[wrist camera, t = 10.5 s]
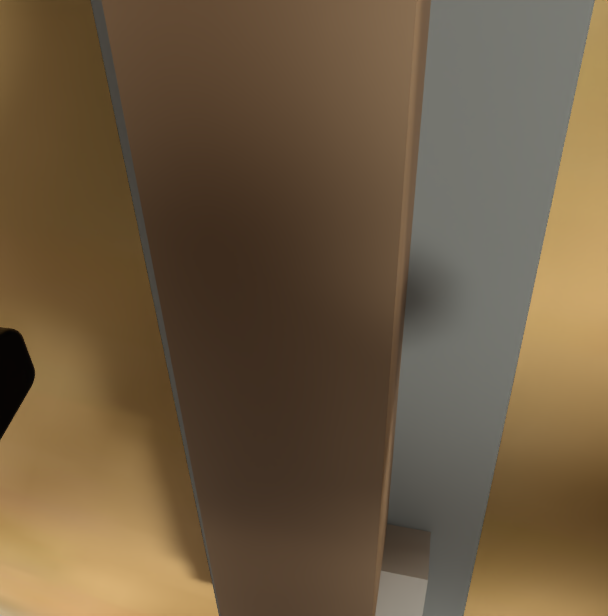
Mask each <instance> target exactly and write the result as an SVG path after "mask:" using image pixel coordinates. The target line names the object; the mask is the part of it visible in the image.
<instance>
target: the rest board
mask: <svg viewBox="0 0 608 616" xmlns="http://www.w3.org/2000/svg"><path fill="white" fill-rule="evenodd" d="M594 1H595V0H431V7H430V19H429V31H428V43H427V55H426V67H425V79H424V91H423V103H422V115H421V127H420V139H419V151H418V163H417V174H416V186H415V198H414V210H413V222H412V234H411V246H410V258H409V270H408V282H407V294H406V306H405V318H404V330H403V342H402V354H401V366H400V377H399V389H398V401H397V413H396V425H395V437H394V449H393V461H392V473H391V485H390V497H389V509H388V521H387V524H390V525H395V526H400V527H406V528H411V529H417V530H422V531H427V532H431V535H430V554H429V572H428V583H427V590H426V596H425V602H424V609H423V615H422V616H463V615H464V610H465V606H466V601H467V596H468V592H469V587H470V582H471V578H472V573H473V568H474V564H475V559H476V554H477V550H478V545H479V540H480V535H481V531H482V526H483V521H484V517H485V512H486V507H487V503H488V498H489V493H490V489H491V484H492V479H493V475H494V470H495V465H496V461H497V456H498V451H499V446H500V442H501V437H502V432H503V428H504V423H505V418H506V414H507V409H508V404H509V400H510V395H511V390H512V386H513V381H514V376H515V372H516V367H517V362H518V357H519V353H520V348H521V343H522V339H523V334H524V329H525V325H526V320H527V315H528V311H529V306H530V301H531V297H532V292H533V287H534V283H535V278H536V273H537V268H538V264H539V259H540V254H541V250H542V245H543V240H544V236H545V231H546V226H547V222H548V217H549V212H550V208H551V203H552V198H553V194H554V189H555V184H556V179H557V175H558V170H559V165H560V161H561V156H562V151H563V147H564V142H565V137H566V133H567V128H568V123H569V119H570V114H571V109H572V104H573V100H574V95H575V90H576V86H577V81H578V76H579V72H580V67H581V62H582V58H583V53H584V48H585V44H586V39H587V34H588V30H589V25H590V20H591V15H592V11H593V6H594ZM91 4H92V9H93V14H94V19H95V23H96V28H97V33H98V38H99V43H100V47H101V52H102V57H103V62H104V67H105V71H106V76H107V81H108V86H109V91H110V95H111V100H112V105H113V110H114V114H115V119H116V124H117V129H118V134H119V138H120V143H121V148H122V153H123V158H124V162H125V167H126V172H127V177H128V182H129V186H130V191H131V196H132V201H133V205H134V210H135V215H136V220H137V225H138V229H139V234H140V239H141V244H142V249H143V253H144V258H145V263H146V268H147V273H148V277H149V282H150V287H151V292H152V296H153V301H154V306H155V311H156V316H157V320H158V325H159V330H160V335H161V340H162V344H163V349H164V354H165V359H166V364H167V368H168V373H169V378H170V383H171V387H172V392H173V397H174V402H175V407H176V411H177V416H178V421H179V426H180V431H181V435H182V440H183V445H184V450H185V454H186V459H187V464H188V469H189V474H190V478H191V483H192V488H193V493H194V498H195V502H196V507H197V512H198V517H199V522H200V526H201V531H202V536H203V541H204V545H205V550H206V555H207V560H208V565H209V569H210V574H211V579H212V584H213V589H214V593H215V598H216V603H217V608H218V613H219V616H220V611H219V606H218V601H217V595H216V590H215V585H214V580H213V575H212V570H211V564H210V559H209V554H208V549H207V544H206V539H205V533H204V528H203V523H202V518H201V513H200V507H199V502H198V497H197V492H196V487H195V482H194V476H193V471H192V466H191V461H190V456H189V451H188V445H187V440H186V435H185V430H184V425H183V420H182V414H181V409H180V404H179V399H178V394H177V388H176V383H175V378H174V373H173V368H172V363H171V357H170V352H169V347H168V342H167V337H166V332H165V326H164V321H163V316H162V311H161V306H160V300H159V295H158V290H157V285H156V280H155V275H154V269H153V264H152V259H151V254H150V249H149V244H148V238H147V233H146V228H145V223H144V218H143V213H142V207H141V202H140V197H139V192H138V187H137V181H136V176H135V171H134V166H133V161H132V156H131V150H130V145H129V140H128V135H127V130H126V125H125V119H124V114H123V109H122V104H121V99H120V93H119V88H118V83H117V78H116V73H115V68H114V62H113V57H112V52H111V47H110V42H109V37H108V31H107V26H106V21H105V16H104V11H103V6H102V0H91Z"/></svg>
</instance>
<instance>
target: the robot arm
mask: <svg viewBox="0 0 608 616" xmlns="http://www.w3.org/2000/svg"><path fill="white" fill-rule="evenodd" d="M34 378H35V369H34V366H33V363H32V361H31V358H30V355H29V353H28V350H27V347H26V344H25V342H24V339H23V337H22V335H21V334H20V333H19V332H18V331H17V330H15V329H11V328H3V327H0V440H1V438H2V436H3V435H4V433H5V431H6V429H7V428H8V426H9V424H10V422H11V421H12V419H13V417H14V416H15V414H16V412H17V410H18V409H19V407H20V405H21V403H22V402H23V400H24V398H25V397H26V395H27V393H28V391H29V390H30V388H31V386H32V384H33V381H34Z"/></svg>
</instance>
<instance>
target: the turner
mask: <svg viewBox="0 0 608 616" xmlns="http://www.w3.org/2000/svg"><path fill="white" fill-rule="evenodd" d="M102 6H103V11H104V16H105V21H106V26H107V31H108V37H109V42H110V47H111V52H112V57H113V62H114V68H115V73H116V78H117V83H118V88H119V93H120V99H121V104H122V109H123V114H124V119H125V125H126V130H127V135H128V140H129V145H130V150H131V156H132V161H133V166H134V171H135V176H136V181H137V187H138V192H139V197H140V202H141V207H142V213H143V218H144V223H145V228H146V233H147V238H148V244H149V249H150V254H151V259H152V264H153V269H154V275H155V280H156V285H157V290H158V295H159V300H160V306H161V311H162V316H163V321H164V326H165V332H166V337H167V342H168V347H169V352H170V357H171V363H172V368H173V373H174V378H175V383H176V388H177V394H178V399H179V404H180V409H181V414H182V420H183V425H184V430H185V435H186V440H187V445H188V451H189V456H190V461H191V466H192V471H193V476H194V482H195V487H196V492H197V497H198V502H199V507H200V513H201V518H202V523H203V528H204V533H205V539H206V544H207V549H208V554H209V559H210V564H211V570H212V575H213V580H214V585H215V590H216V595H217V601H218V606H219V611H220V616H422V615H423V609H424V602H425V596H426V590H427V583H428V572H429V554H430V535H431V532H427V531H422V530H417V529H411V528H406V527H400V526H395V525H390V524H387V521H388V509H389V497H390V485H391V473H392V461H393V449H394V437H395V425H396V413H397V401H398V389H399V377H400V366H401V354H402V342H403V330H404V318H405V306H406V294H407V282H408V270H409V258H410V246H411V234H412V222H413V210H414V198H415V186H416V174H417V163H418V151H419V139H420V127H421V115H422V103H423V91H424V79H425V67H426V55H427V43H428V31H429V19H430V7H431V0H102Z"/></svg>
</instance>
